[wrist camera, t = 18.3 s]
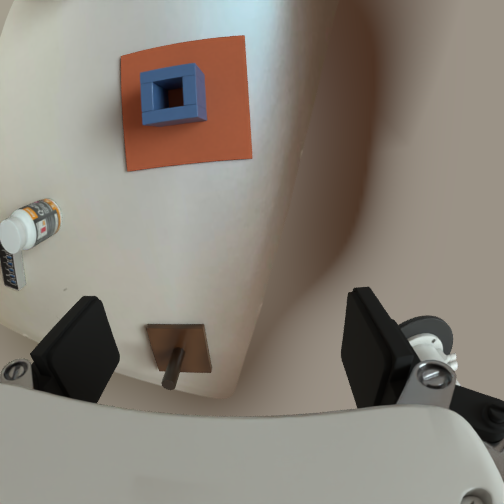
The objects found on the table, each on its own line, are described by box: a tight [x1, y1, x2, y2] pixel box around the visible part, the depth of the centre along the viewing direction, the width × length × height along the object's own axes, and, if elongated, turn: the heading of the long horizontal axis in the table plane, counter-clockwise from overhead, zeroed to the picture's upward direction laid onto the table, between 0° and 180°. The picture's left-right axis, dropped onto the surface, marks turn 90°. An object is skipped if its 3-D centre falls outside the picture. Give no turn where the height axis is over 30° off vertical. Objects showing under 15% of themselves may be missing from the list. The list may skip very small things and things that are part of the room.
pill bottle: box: [0, 199, 62, 254], centre depth 33 cm, size 6×6×10 cm
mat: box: [121, 35, 252, 171], centre depth 32 cm, size 16×16×1 cm
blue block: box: [140, 63, 207, 127], centre depth 29 cm, size 6×6×6 cm
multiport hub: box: [0, 241, 26, 291], centre depth 39 cm, size 4×11×2 cm, turn 170°
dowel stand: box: [146, 324, 212, 390], centre depth 41 cm, size 9×9×9 cm
